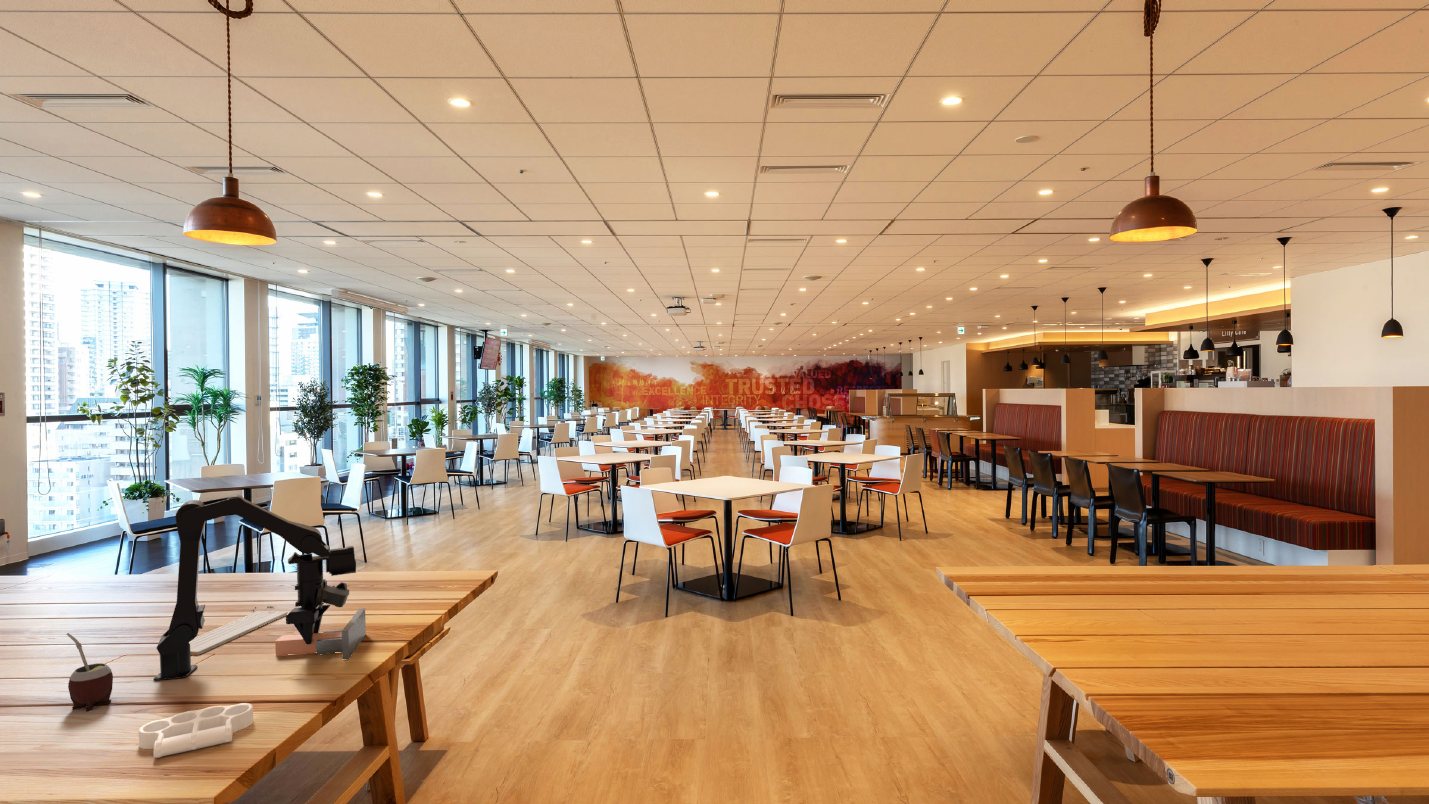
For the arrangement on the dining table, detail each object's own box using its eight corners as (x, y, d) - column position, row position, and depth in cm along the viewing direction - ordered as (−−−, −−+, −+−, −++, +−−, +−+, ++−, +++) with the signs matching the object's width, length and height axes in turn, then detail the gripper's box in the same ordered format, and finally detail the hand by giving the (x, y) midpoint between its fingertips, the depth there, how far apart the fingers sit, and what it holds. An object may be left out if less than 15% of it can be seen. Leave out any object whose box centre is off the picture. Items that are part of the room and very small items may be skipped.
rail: (275, 657, 180) (275, 641, 180) (282, 651, 184) (281, 635, 184) (345, 652, 183) (345, 636, 183) (350, 646, 187) (350, 630, 187)
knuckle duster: (131, 768, 129) (144, 734, 141) (252, 741, 138) (254, 711, 151) (130, 750, 129) (143, 717, 141) (251, 724, 138) (253, 695, 151)
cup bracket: (349, 659, 177) (348, 631, 177) (310, 663, 175) (309, 634, 175) (365, 634, 195) (365, 608, 194) (330, 637, 193) (330, 611, 192)
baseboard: (155, 655, 183) (198, 657, 181) (155, 643, 183) (198, 646, 181) (250, 615, 213) (287, 616, 212) (250, 605, 213) (287, 607, 212)
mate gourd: (109, 708, 152) (106, 636, 152) (59, 717, 148) (56, 644, 148) (117, 694, 159) (114, 626, 158) (69, 703, 155) (66, 632, 154)
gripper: (335, 586, 176) (337, 650, 176) (354, 566, 194) (356, 625, 194) (284, 590, 173) (286, 655, 174) (307, 570, 191) (309, 629, 192)
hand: (312, 640), depth 183 cm, fingers open, 5 cm apart
